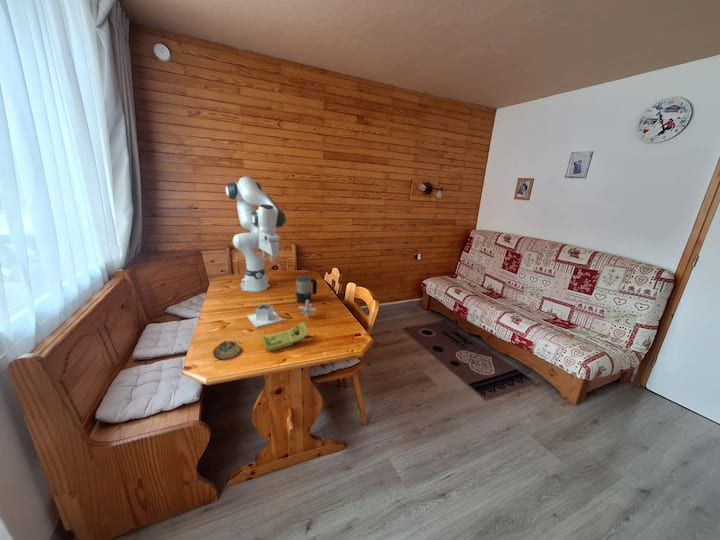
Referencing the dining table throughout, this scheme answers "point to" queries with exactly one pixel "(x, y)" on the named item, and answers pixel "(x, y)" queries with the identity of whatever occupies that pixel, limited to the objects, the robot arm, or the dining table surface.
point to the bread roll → (226, 350)
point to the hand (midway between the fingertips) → (268, 260)
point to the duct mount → (260, 323)
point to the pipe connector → (307, 308)
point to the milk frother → (305, 288)
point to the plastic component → (284, 337)
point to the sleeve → (264, 312)
